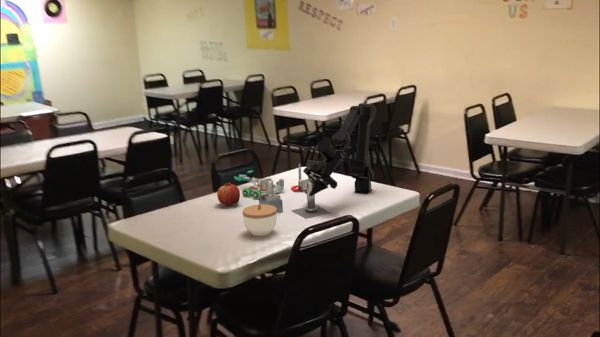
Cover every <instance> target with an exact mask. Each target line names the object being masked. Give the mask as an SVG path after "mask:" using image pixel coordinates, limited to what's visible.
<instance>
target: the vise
mask: <svg viewBox="0 0 600 337" xmlns="http://www.w3.org/2000/svg"><path fill="white" fill-rule="evenodd" d="M260 183H261V189H265V183H266V193H262V194H260V197H259V199H258V204H265V205H272V206H274V207H276V208H277V213H283V212H284V205H283V199H281V195H280V194H279V193H275V192H274V186H273V183H274V180H273V179H272V178H271V177H268V178H263V179H262V178H260Z"/></svg>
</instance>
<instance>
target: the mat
mask: <svg viewBox="0 0 600 337" xmlns="http://www.w3.org/2000/svg"><path fill="white" fill-rule="evenodd" d="M315 206H317V207H318V210H317V211H312V212H309V211H306V210H305V207H306V206H305V207H300V208H295V209H292V210H290V211H291V212H293V213H295V214H296V215H298V214H299V215H298V216H300V217H302V218H304V219H309V218H315V217H321V216H323V215H328V214H332V212H331V211H330V210H328V209H327V208H326V209H325V208H324V207H321V206H320V205H318V204H315Z"/></svg>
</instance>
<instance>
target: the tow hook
mask: <svg viewBox="0 0 600 337" xmlns="http://www.w3.org/2000/svg"><path fill="white" fill-rule="evenodd" d="M301 167H302V166H301V163H298V184H297V185H292V186H291V187H290V190H291V191H292V192H293V193H298V192H299V193H303V191H304V192H305V190H302V188H301V180H302V168H301ZM297 187H298V188H297Z"/></svg>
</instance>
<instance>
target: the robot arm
mask: <svg viewBox="0 0 600 337" xmlns="http://www.w3.org/2000/svg"><path fill="white" fill-rule="evenodd" d="M376 114H377V107H376V106H375V104H374V103H365V102H364V103H363V102H362V103H358V104H357V105H352V106H350V108H349V112H348V113H347V116H346V117H345V119H344V121H343V123H342V125H341V127H340V129H339V130H338V131H337V132H335V133H334V134H333V135H332V136H331V138H330V137H324V139H323V140H320V142H318V144H317V146H316V148H317V151H318V152H319V153H320V154H321V155H322V156H323V158H324V160H316V161H314V160H310V159H307V162H306V165H305V168H304V169H303V171H302V173H304V174H305V175H306V176H307V179H310V178H311V179H312V181H314V187H313V189H312V190H311V192H310V194H309V195H310V196H313V195H315V196H316V194H318V193H320V192H322V191H324V190H326V189H329V186H330V188H331V189H334V190H335V189H336V188H337V186H338V181H336V179H334V178H333V177H332V176H331V175H332V173H336V171H337V170H336V169H337V167H338V165H340V163H341V161H342V162H346V161H345V160H346V157H345V156H346V155H345V154H344V153H342V152H347V151H348V150H349V148H350V145H351V142H352V141H351V136H352V133H353V132H354V130H355V128H356V125H357V123H359V125H358V127H359V128H358V136H357V137H358V138H357V146H356V147H357V148H356V156H355V158H354V159H352V160H351V167H350V172H351V176H352V177H351V178H352V179H355V181H354V193H356V194H364V195H365V194H367V195H368V194H370V193H371V192H372V191H373V188H372V181H373V180H374V179H375V172H374V170H373V169H372V165H371V164H372V162H371V160H370V159H369V146H370V136H371V135H370V134H371V125H372V123H373V122H374V120H375V119H376ZM304 194H306V195H307V189H306V190H305V191H304Z"/></svg>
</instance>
